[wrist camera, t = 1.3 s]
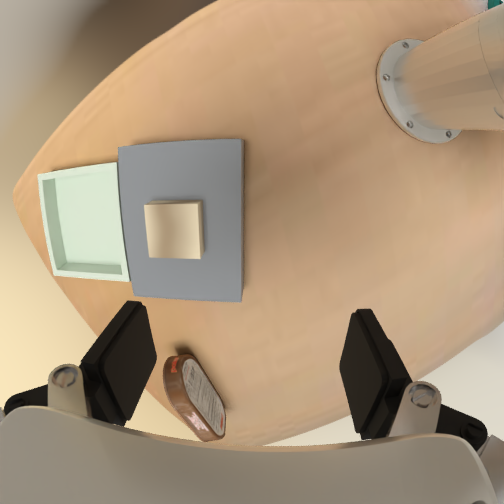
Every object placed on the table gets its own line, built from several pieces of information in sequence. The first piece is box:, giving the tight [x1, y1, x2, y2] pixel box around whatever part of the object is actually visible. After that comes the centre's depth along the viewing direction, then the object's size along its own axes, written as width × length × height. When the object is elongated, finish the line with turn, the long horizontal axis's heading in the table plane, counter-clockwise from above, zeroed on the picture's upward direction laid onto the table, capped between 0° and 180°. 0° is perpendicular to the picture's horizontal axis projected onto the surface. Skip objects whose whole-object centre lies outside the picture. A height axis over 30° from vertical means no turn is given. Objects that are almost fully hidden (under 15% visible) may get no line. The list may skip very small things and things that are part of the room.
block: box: [144, 200, 205, 259], centre depth 25 cm, size 5×5×2 cm
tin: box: [163, 354, 226, 442], centre depth 34 cm, size 15×3×8 cm, turn 19°
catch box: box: [38, 162, 131, 282], centre depth 29 cm, size 12×13×3 cm
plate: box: [118, 139, 244, 302], centre depth 28 cm, size 12×16×4 cm
